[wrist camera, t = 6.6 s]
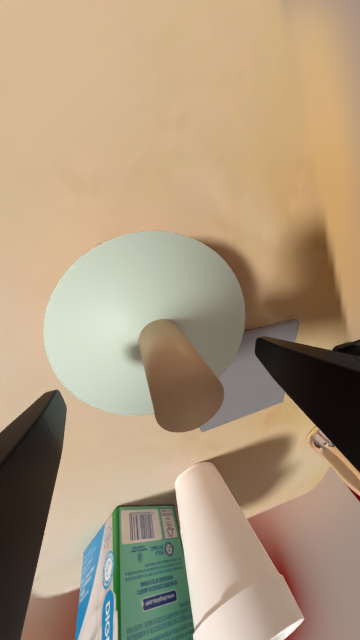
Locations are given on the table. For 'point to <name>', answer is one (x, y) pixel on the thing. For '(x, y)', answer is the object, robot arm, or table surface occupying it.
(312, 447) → the beer glass
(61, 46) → the table surface
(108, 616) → the milk carton
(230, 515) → the foam cup
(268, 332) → the mat
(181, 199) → the table surface
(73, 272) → the lid
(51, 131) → the table surface
